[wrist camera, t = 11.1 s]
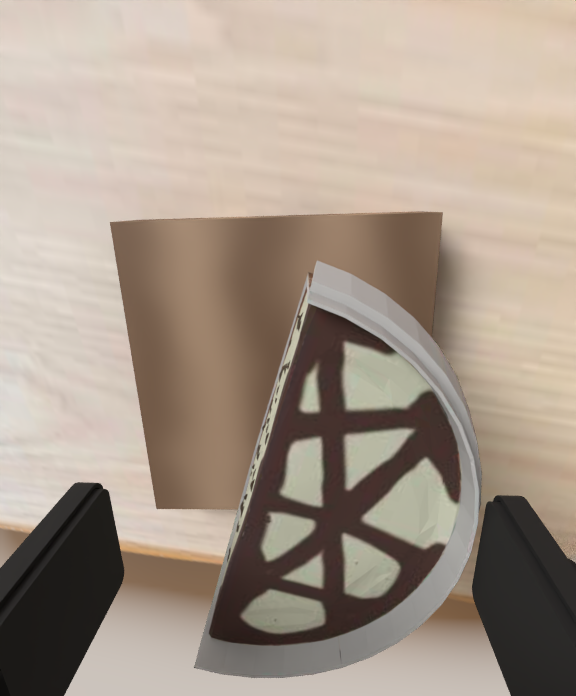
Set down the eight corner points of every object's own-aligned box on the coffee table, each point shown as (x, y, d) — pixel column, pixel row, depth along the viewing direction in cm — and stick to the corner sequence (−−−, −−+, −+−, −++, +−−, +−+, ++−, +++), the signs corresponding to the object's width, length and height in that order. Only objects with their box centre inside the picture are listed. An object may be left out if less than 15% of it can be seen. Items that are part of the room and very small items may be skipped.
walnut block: (417, 211, 21) (442, 212, 17) (400, 465, 25) (416, 510, 22) (144, 219, 21) (109, 222, 18) (178, 465, 26) (156, 508, 22)
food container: (360, 504, 22) (391, 736, 12) (247, 472, 21) (189, 680, 12) (456, 280, 17) (616, 363, 8) (318, 237, 17) (315, 272, 8)
